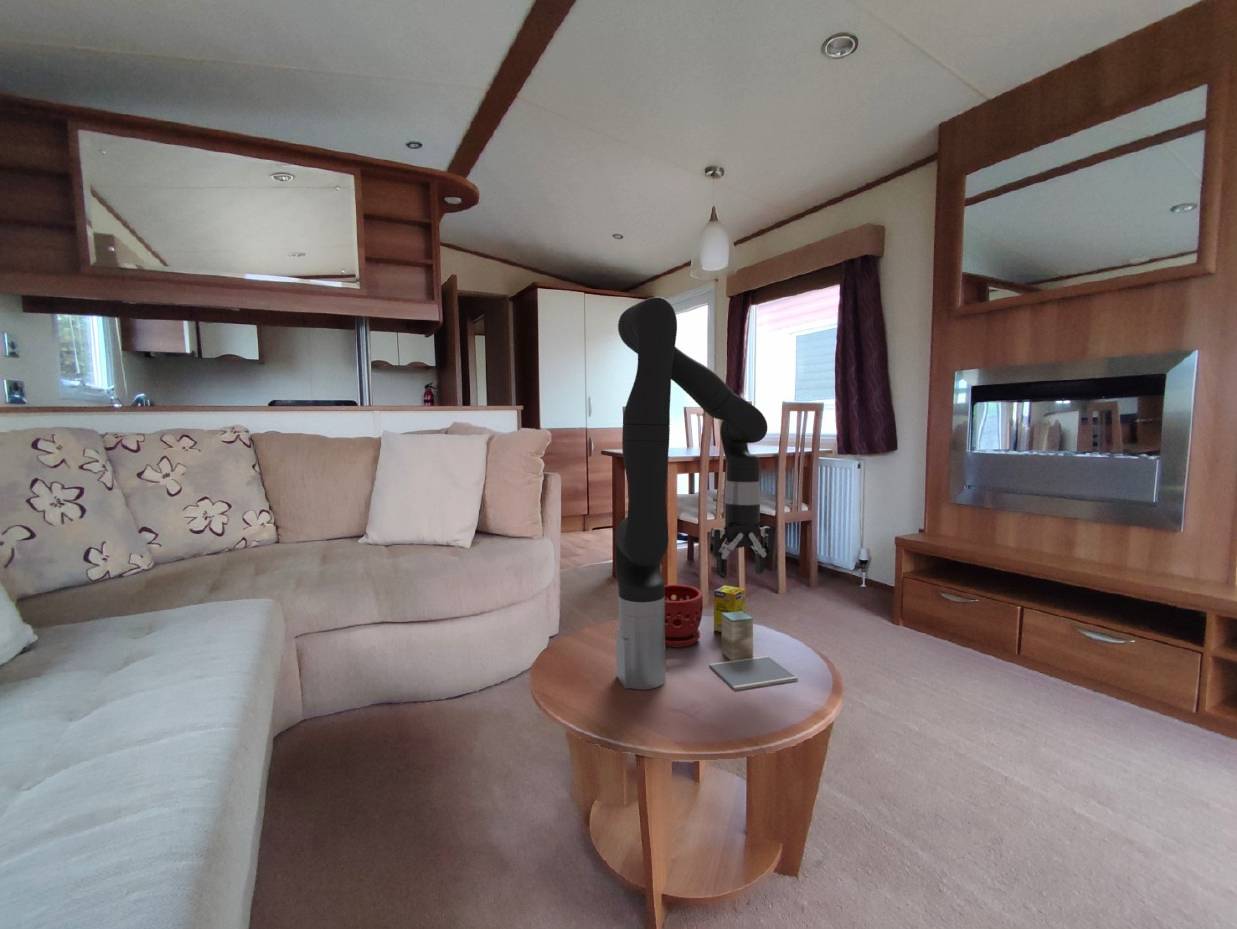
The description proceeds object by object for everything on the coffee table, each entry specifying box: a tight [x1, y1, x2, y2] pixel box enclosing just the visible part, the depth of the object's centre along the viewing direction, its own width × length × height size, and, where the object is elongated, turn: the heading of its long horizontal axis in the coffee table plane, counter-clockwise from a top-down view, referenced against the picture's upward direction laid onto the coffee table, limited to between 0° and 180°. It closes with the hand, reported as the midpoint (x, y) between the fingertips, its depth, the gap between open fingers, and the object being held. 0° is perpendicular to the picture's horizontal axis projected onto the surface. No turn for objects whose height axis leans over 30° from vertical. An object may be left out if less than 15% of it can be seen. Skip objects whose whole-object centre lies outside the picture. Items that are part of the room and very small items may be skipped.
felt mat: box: [708, 655, 799, 691], centre depth 106 cm, size 14×11×1 cm
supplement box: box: [713, 584, 746, 636], centre depth 129 cm, size 6×6×11 cm
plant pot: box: [664, 584, 704, 648], centre depth 124 cm, size 13×13×12 cm
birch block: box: [721, 611, 754, 661], centre depth 115 cm, size 5×5×9 cm
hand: (741, 574), depth 114 cm, fingers open, 8 cm apart
